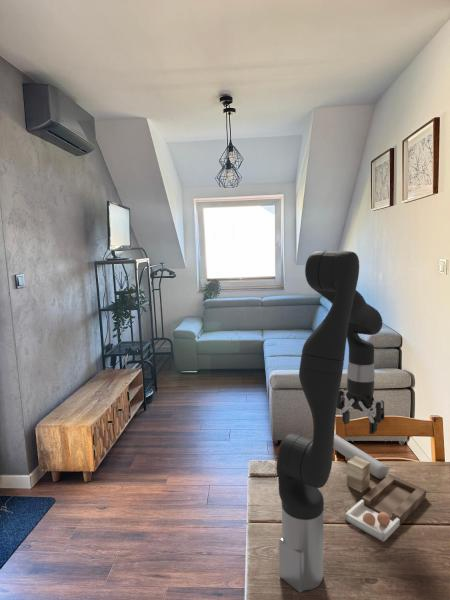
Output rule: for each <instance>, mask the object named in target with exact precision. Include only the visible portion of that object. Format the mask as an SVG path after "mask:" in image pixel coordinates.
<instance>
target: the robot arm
mask: <svg viewBox="0 0 450 600" xmlns="http://www.w3.org/2000/svg"><path fill="white" fill-rule="evenodd" d="M304 274H305V275H304V276H305V280H306V282H307V284H308V285H309V287H310V288H311V289H313V290H314V291H315V292H317V293H318V294H320V295H321V296H322V297H323V298H324V299H326V300H327V301H329V303H331V308H329V311H328V313H326V316H325V317H324V319H323V320H322V321H321V322H320V323H319V324H318V326H317V327H316V328H315V329H314V330H313V332H312V333H311V334H310V335H309V336H308V337H307V339H306V341H305V342H304V344H303V347H302V349H301V355H300V363H299V370H298V371H299V372H298V377H299V383H300V386H301V389H302V391H303V394H304V396H305V399H306V402H307V404H308V407H309V409H310V413H311V416H312V423H313V424H312V425H313V430H312V432H313V433H312V434H313V435H312V436H313V437H312V438H309V437H307V436H303V435H301V434H297V433H288V434H286V435H285V436H284V437H283V438H282V440H281V441H280V443H279V447H278V449H277V451H278V452H277V459H276V460H277V463H276V467H277V468H276V469H277V480H278V481H277V483H278V494H279V498H280V501H281V538H279V540H278V541H279V543H278V547H279V548H278V551H279V552H278V554H279V557H278V558H279V566H278V567H279V577H280V578H281V579H283V580H284V581H285V582H286V583H287V584H288V585H289V586H291V587H292V588H293V589H295V590H296V592H298V593H300V594H301V593H302V592H304V591H310V590H313V589H317V588H318V587H319V586H320V585H321V583H322V582H323V579H324V520H325V519H324V513H325V512H324V511H325V506H324V504H325V501H324V496H323V493H322V492H321V490H320V489H321V488H323V487H324V486H325V485H326V484H327V482H328V480H329V478H330V474H331V471H332V465H333V458H334V449H333V446H334V433H335V431H336V430H335V429H336V428H335V427H336V415H337V414H336V413H337V409H338V410H340V411H341V412H342V413H341V414H342V418H341V419H342V423H343V425H345V426H346V425H348V424H350V419H351V418H350V417H351V416H350V412H351V411H350V410H351V409H354V410H358V411H360V412H363V413H364V414H365V416H366V417H367V418H368V419H369V427H368V429H369V431H368V432H369V433H368V434H370V435H374V434H375V433H376V432H377V431H378V424H380V423H381V422H383V421H385V402H384V400H382V399H380V400H376V399H374V392H375V346H374V344H373V343H372V342H370V341H368V340H364V339H363V338H361V337H360V335H367V336H374V335H376V334H378V333H379V332H380V331H381V329H382V328H383V318H382V315H381V313H380V312H379V311H378V309H376V308H374V307H373V306H371V304H368V303H367V302H366V299H365V298H364V297H363V295H362V294H361V293H360V292H359V291H358V290H357V286H358V280H359V274H360V260H359V256H358V255H357V253H355V252H354V251H351V250H350V251H349V250H347V251H346V250H318V251H316V250H315V251H314V252H312V253H311V254H309V255H308V258H307V260H306V262H305V268H304ZM359 334H360V335H359ZM347 344H348V364H347V371H346V372H347V373H346V375H347V377H346V380H347V381H346V382H347V383H346V388H342V389H341V384H342V383H341V382H342V377H343V371H344V363H345V362H344V361H345V356H346V355H345V354H346V345H347ZM346 398H347V401H348V402H347V403H346V404H345V402H346ZM373 405H374V406H373Z"/></svg>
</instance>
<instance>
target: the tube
mask: <svg viewBox="0 0 450 600" xmlns="http://www.w3.org/2000/svg"><path fill="white" fill-rule="evenodd" d="M333 450H335V451H336V452H338V453H340V455H342V456H344V457H345V458H347V459H349V460H350V459H352V458H353V457H355V456H357V457H359V458H361V459H363V460H366V461H368V462H370V474H371V475H372V476H373V477H374V478H375V477H376V478H377V479H379V480H383V479H385V478H386V477H387V476H388V475H389V470H388V467H387V465H385V464H384V463H382V462H381V461H379V460H378V459H376V458H374V457H373V456H371V455H370V454H369V453H366V452H365V451H363V450H361V449H360V448H358V447H357V446H355V445H354V444H352V443H350V442H348V441H347V440H346V439H344V438H343V437H341V436H339V435H338V434H337V433H335V434H334V446H333Z"/></svg>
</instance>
